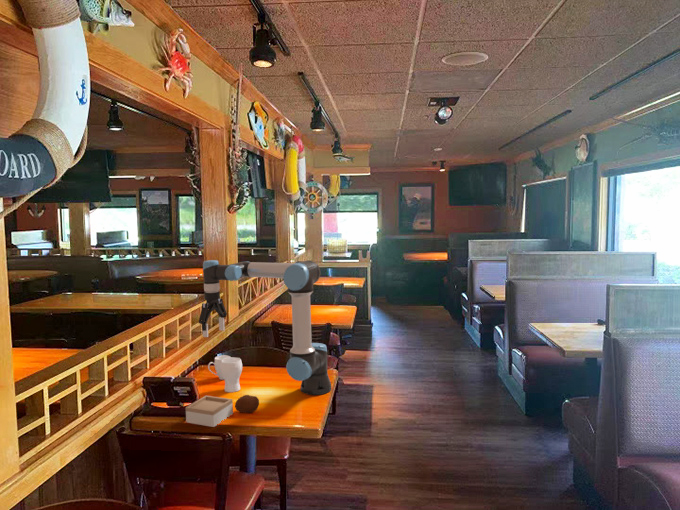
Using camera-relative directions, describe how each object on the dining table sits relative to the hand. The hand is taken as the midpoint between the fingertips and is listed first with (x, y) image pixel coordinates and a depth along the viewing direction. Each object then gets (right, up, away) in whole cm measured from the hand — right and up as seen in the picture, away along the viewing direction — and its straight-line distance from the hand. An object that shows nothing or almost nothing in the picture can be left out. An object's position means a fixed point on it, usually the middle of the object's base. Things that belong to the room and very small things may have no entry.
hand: (214, 333), depth 249 cm
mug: (-1, -27, +15) cm, 31 cm away
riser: (+7, -31, -34) cm, 46 cm away
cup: (+9, -28, 0) cm, 30 cm away
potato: (+22, -31, -28) cm, 47 cm away
